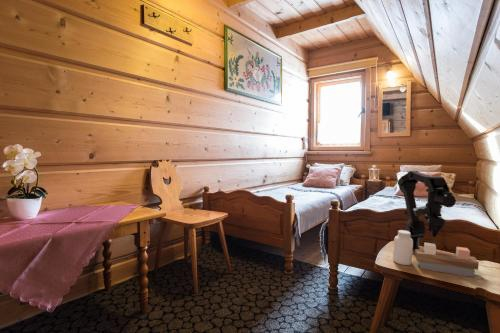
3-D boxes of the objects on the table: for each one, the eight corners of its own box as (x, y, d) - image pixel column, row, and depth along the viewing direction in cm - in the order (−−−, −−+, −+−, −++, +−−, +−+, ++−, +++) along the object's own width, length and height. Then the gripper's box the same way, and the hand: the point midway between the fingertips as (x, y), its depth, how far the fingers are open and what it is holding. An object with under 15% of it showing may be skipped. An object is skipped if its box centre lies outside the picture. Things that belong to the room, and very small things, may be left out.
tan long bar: (415, 256, 136) (415, 248, 135) (473, 264, 127) (474, 257, 126) (416, 260, 131) (417, 253, 130) (478, 269, 122) (478, 262, 121)
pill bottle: (414, 266, 131) (416, 235, 130) (395, 264, 133) (397, 233, 131) (408, 259, 139) (410, 229, 138) (390, 257, 141) (392, 228, 139)
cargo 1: (423, 250, 133) (424, 242, 133) (433, 252, 132) (434, 243, 131) (425, 253, 130) (425, 245, 129) (435, 255, 128) (436, 246, 128)
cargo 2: (455, 255, 128) (456, 246, 128) (466, 256, 127) (467, 248, 126) (458, 258, 125) (458, 249, 124) (469, 260, 123) (470, 251, 123)
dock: (417, 261, 136) (418, 255, 136) (468, 269, 129) (468, 263, 128) (420, 268, 129) (420, 262, 129) (474, 277, 121) (474, 270, 121)
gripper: (412, 197, 148) (410, 226, 149) (417, 204, 131) (415, 237, 132) (437, 199, 144) (435, 229, 145) (446, 207, 127) (444, 241, 128)
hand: (432, 233), depth 138 cm, fingers open, 9 cm apart
